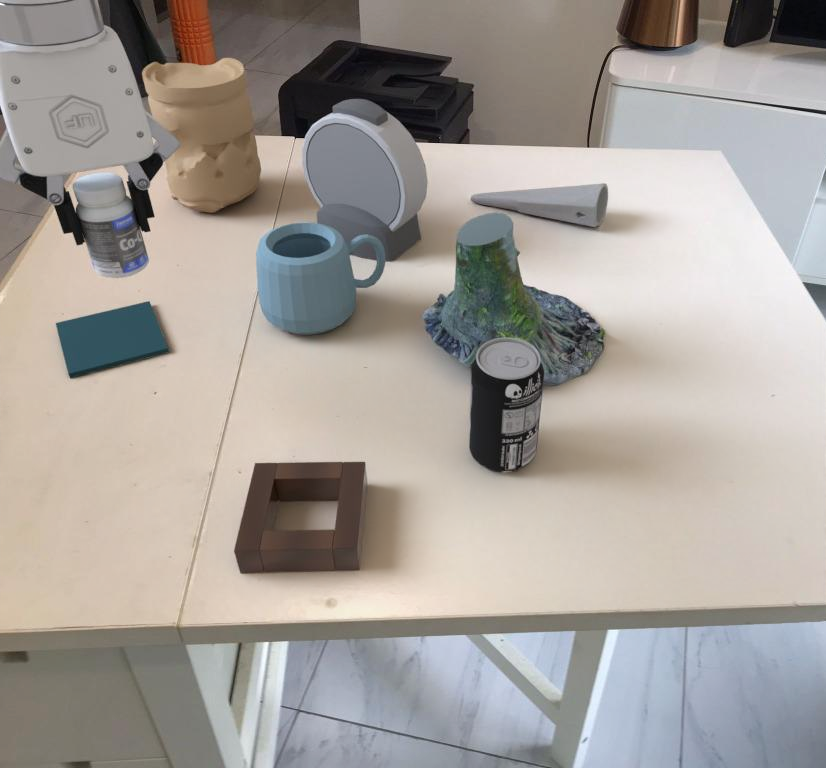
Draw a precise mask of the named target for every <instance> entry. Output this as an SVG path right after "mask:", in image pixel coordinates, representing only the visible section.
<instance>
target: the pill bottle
mask: <svg viewBox="0 0 826 768" xmlns="http://www.w3.org/2000/svg"><path fill="white" fill-rule="evenodd" d="M72 190H73V193H74V196H75V199H76V202H77V205H76V206H75V212H76V215H77V218H78V221H79V224H80V227H81V230H82V234H83V237H84V240H85V242H84V243H85V245H86V246H85V247H86V248H87V251H88V254H89V257H90V258H89V259H90V261H91V264H92V267H93V270H94V271H95V273H97V275H99V276H101V277H104V278H110V279H123V278H129V277H132V276H135V275H137V274H139V273H141V272H142V271H143V270H144V269H146V268H147V266H148V264H149V261H150V260H149V259H150V258H149V254H148V251H147V247H146V244H145V240H144V236H143V232H142V230H141V228H140V225H139V221H138V218H137V214H136V211H135V207H134V204H133V201H132V200H131V196H128V195H127V189H126V187H125V184H124V180H123V178H122V177H121V176H120V175H118V174H117V173H112V172H96V173H95V172H94V173H90V174H87V175H84V176H81V177H79V178H77V179H76V180H74V182H73V183H72Z"/></svg>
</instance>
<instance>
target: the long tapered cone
mask: <svg viewBox="0 0 826 768" xmlns="http://www.w3.org/2000/svg"><path fill="white" fill-rule="evenodd" d="M470 201H471V202H473V203H475V204H478V205H482V206H488V207H495V208H499V209H505V210H510V211H516V212H518V213H521V214H526V215H531V216H536V217H541V218H546V219H551V220H556V221H561V222H567V223H573V224H577V225H582V226H586V227H592V228H597V227H600V226H601V225H602V223H603V222H604V219H605V216H606V212H607V209H608V208H607V207H608V204H609V203H608V202H609V187H608V184H607V183H593V184H591V183H590V184H579V185H567V186H557V187H543V188H529V189H516V190H503V191H493V192H481V193H475V194H471V196H470Z"/></svg>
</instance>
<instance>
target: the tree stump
mask: <svg viewBox="0 0 826 768" xmlns="http://www.w3.org/2000/svg"><path fill="white" fill-rule="evenodd" d="M455 242H456V243H455V271H454V272H455V273H454V287H453V290H452V291H451V292H450V293H449V294H448V295H447V296H446V295H444V294H443V293H439V295H438V297H437V298H436V300H437V301H436V302H435V303H434V304H433V305H431V306H429V307H428V308H426V309H425V310H424V312H423V314H422V319H423V321H424V322H425V325H424V326H423V328H424V329H425V331H426V332H427V334H429V336H430V338H431V340H432V342H433V343H435V344H436V346H438V347H440V348H441V349H443V350H444V351H445V353H447V354H448V355H450V356H452V357H453V358H454V359H455V360H457V361H459V362H460V363H461V364H462V365H464V366H466V367H467V368H470V369H471V367H472V364H473V361H474V360H475V359H476V355H477V351H478V349H479V348H480V347H481V346H482V345H483V344H484V343H486V342H488V341H490V340H493V339H497V338H517V339H521V340H524V341H526V342H528V343H530V344H532V345H533V346H534V347H535V348H536V349H537V350H538V352H539V354H540V357H541V363H542V365H543V368H544V381H543V387H545V386H558V385H561V384H563V383H564V382H566V381H568V380H570V379H573V378H578V377H580V376H583V375H585V374H588V372H589V371H590V370H591V369H592V367H593V365H594V364H595V363H596V362H597V360H598V359H599V357H600V356H601V354H602V353H603V352H604V349H605V344H604V339H605V336H606V330H605V329H604V328H603V327H601V326H600V324H599V323H598V322H597V321H596V319H595V318H593V317H592V316H591V314H590V313H589V312H588V310H587V311H586V310H585V309H584V308H582V307H580V306H579V305H578V304H576V303H575V302H573V301H571V300H570V299H569V298H568V297H566V296H564V295H559V294H554V293H549V292H548V291H545V290H542V289H538V288H537V287H535V286H529V285H526V284H524V281H523V277H522V274H521V269H520V264H519V260H518V257H519V255H520V254H521V251H519V250H518V248H517V247H516V244H515V237H514V221H513V220H512V217H510V216H509V215H507V214H506V213H504V212H490V213H489V212H488V213H484V214H481V215H478V216H476V217H473V218H471V219H470V220H468V221H466V222H465V223H464V224H463V225H461V227H460V228H459V229H458V231H457V232H456V241H455Z"/></svg>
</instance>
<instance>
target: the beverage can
mask: <svg viewBox="0 0 826 768" xmlns="http://www.w3.org/2000/svg"><path fill="white" fill-rule="evenodd" d="M543 381H544V368H543V365H542V363H541V357H540V354H539V352H538V350H537V349H536V348H535V347H534V346H533V345H532V344H530V343H528V342H526V341H524V340H521V339H517V338H497V339H493V340H490V341H488V342H486V343H484V344H483V345H482V346H481V347H480V348H479V349H478V351H477V355H476V359H475V360H474V361H473V364H472V367H471V368H470V396H469V397H470V400H469V401H470V405H469V407H470V408H469V444H468V446H469V453H470V455H471V456H472V458H473V459H474V460H475V461H476V462H477V463H478V464H479V465H480V466H482V467H484V468H485V469H487V470H490V471H492V472H496V473H511V472H515V471H518V470H521V469H522V468H524V467H526V466H528V465H529V464H530V463H531V462H532V461H533V459H534V458H535V456H536V454H537V449H538V440H539V428H540V419H541V410H542V401H543V390H544V386H543Z"/></svg>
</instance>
